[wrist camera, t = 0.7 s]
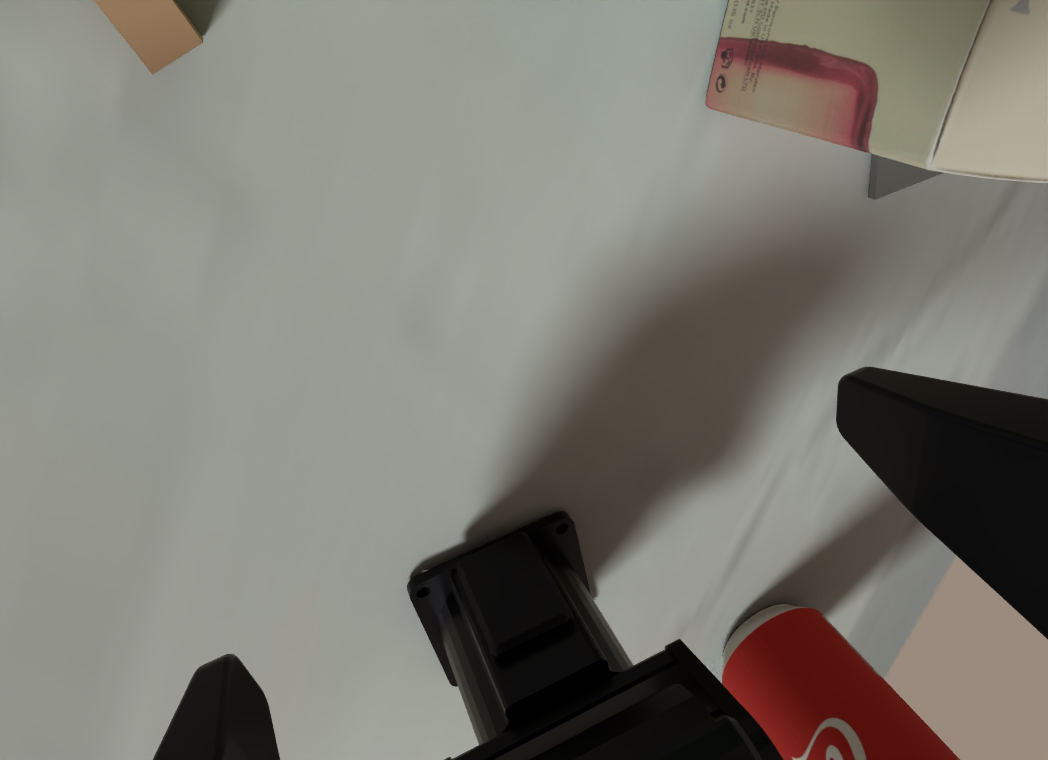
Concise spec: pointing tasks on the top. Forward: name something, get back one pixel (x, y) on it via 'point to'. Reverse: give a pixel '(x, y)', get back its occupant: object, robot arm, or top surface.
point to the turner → (153, 29)
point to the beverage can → (820, 692)
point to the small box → (896, 79)
